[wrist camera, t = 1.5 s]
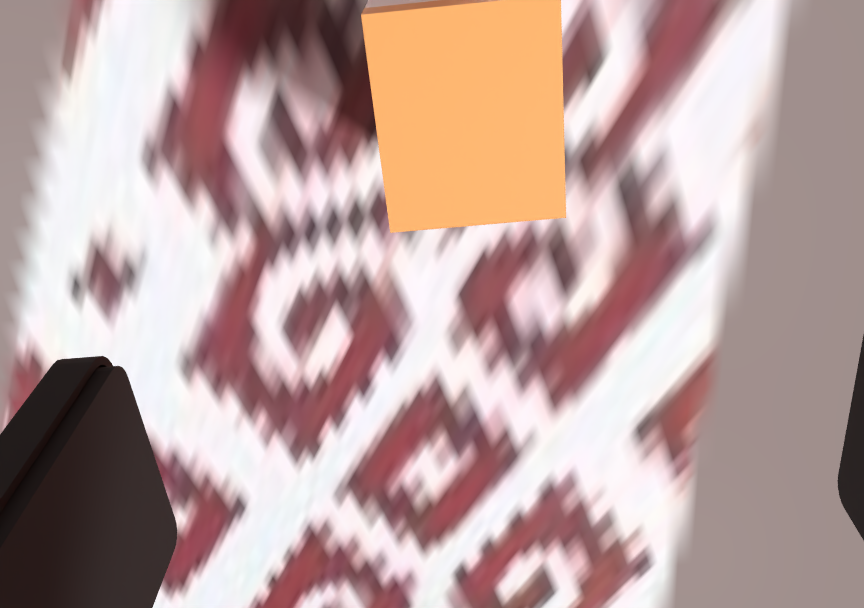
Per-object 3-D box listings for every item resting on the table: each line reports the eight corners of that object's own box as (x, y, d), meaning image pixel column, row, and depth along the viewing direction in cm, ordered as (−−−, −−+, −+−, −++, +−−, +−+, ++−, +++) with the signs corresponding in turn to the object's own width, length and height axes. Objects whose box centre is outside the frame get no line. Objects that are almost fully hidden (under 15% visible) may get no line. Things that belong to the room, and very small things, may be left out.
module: (402, 153, 30) (390, 232, 24) (380, -24, 27) (360, 14, 21) (541, 140, 30) (565, 217, 23) (534, -40, 27) (560, -6, 21)
